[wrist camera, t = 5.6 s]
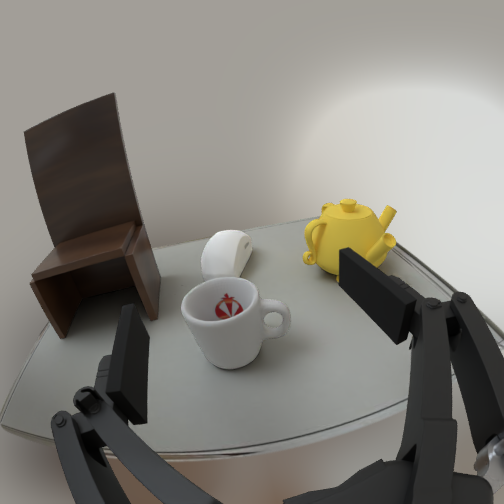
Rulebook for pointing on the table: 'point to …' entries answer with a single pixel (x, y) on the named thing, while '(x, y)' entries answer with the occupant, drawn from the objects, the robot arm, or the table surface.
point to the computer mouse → (226, 254)
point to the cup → (231, 320)
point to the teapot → (348, 235)
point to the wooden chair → (88, 213)
